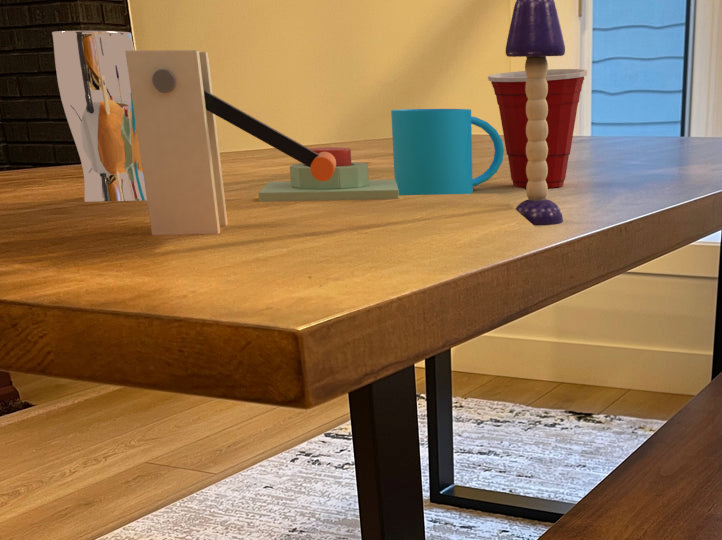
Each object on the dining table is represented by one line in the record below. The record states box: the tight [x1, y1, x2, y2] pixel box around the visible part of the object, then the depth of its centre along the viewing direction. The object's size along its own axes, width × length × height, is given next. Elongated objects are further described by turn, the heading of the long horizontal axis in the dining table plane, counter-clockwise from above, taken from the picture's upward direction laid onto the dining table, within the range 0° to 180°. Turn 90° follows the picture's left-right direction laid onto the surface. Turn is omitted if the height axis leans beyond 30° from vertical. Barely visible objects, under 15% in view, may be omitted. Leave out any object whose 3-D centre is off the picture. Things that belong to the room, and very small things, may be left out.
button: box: [308, 146, 352, 167], centre depth 90 cm, size 4×4×2 cm
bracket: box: [125, 49, 229, 236], centre depth 68 cm, size 11×9×13 cm
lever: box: [203, 89, 336, 181], centre depth 68 cm, size 13×6×2 cm
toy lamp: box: [505, 0, 566, 226], centre depth 80 cm, size 5×5×17 cm
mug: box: [390, 108, 505, 196], centre depth 104 cm, size 12×8×8 cm
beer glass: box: [51, 30, 147, 203], centre depth 91 cm, size 7×7×15 cm
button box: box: [257, 161, 400, 203], centre depth 91 cm, size 12×10×4 cm
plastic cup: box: [487, 68, 588, 189], centre depth 109 cm, size 11×11×12 cm
